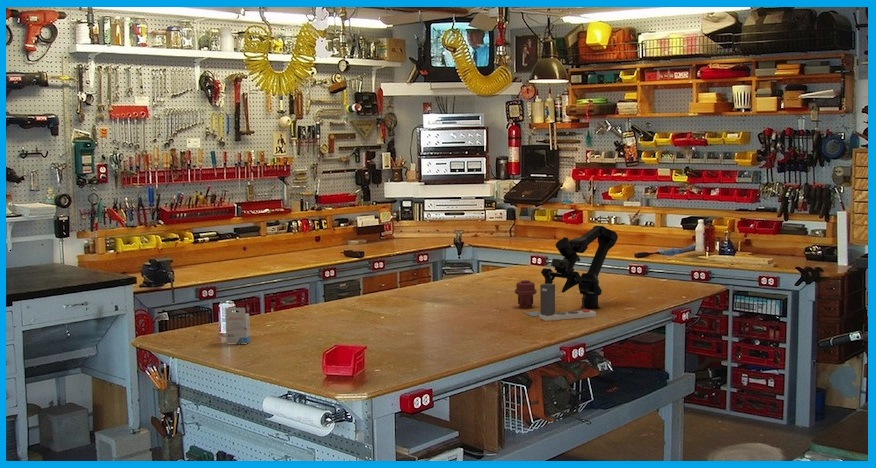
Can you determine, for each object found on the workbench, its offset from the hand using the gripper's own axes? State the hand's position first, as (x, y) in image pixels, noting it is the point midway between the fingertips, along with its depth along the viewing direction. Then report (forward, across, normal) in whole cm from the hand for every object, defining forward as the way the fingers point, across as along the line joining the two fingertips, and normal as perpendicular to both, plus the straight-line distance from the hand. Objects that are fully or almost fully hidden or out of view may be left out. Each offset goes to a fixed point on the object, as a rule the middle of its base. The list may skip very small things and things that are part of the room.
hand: (553, 291), depth 448 cm
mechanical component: (0, -24, +17) cm, 29 cm away
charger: (+10, 0, +4) cm, 10 cm away
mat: (+8, -10, +9) cm, 15 cm away
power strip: (+6, +5, +11) cm, 13 cm away
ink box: (+92, -68, -74) cm, 137 cm away
